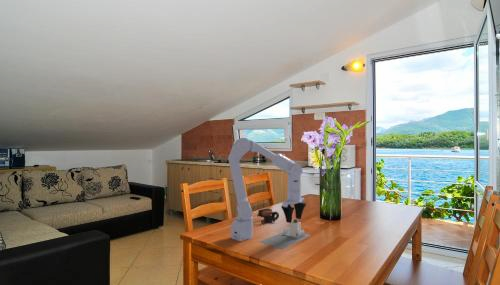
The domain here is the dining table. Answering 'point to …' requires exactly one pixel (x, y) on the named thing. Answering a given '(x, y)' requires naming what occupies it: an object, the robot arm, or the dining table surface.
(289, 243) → the board
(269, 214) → the pottery mug
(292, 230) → the connector
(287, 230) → the end holder
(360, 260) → the dining table surface
